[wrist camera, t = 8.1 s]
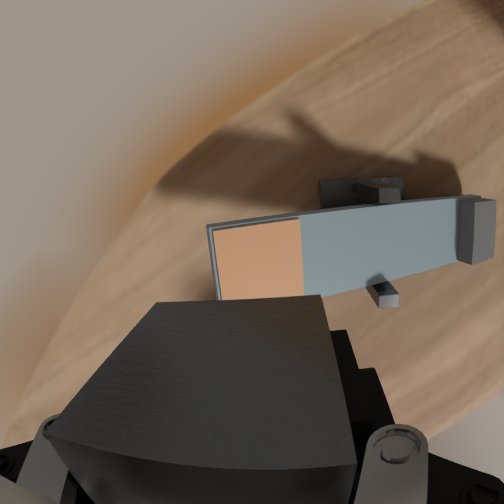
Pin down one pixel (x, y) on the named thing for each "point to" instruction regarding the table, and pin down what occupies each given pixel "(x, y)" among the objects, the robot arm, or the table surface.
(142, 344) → the iron block
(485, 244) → the beam
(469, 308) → the table surface
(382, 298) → the stand
